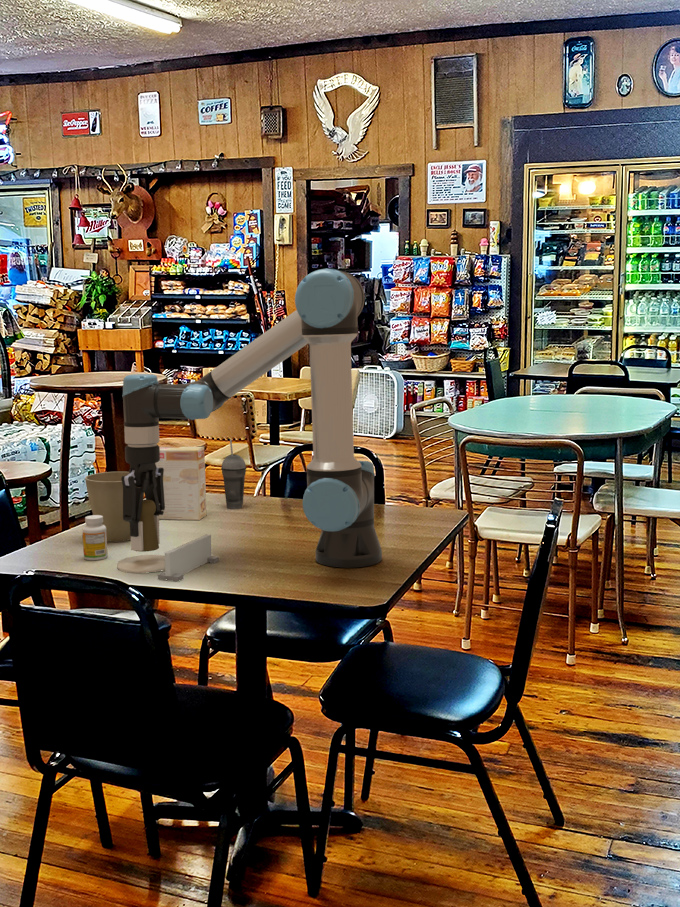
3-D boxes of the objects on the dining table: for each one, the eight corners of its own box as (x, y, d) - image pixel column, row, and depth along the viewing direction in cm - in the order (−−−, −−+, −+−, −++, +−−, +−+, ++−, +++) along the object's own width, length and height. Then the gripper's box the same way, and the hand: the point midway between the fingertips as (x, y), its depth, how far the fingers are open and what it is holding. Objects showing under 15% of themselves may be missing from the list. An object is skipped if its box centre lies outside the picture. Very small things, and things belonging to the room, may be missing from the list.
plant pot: (98, 548, 232) (95, 483, 230) (80, 536, 245) (77, 474, 242) (157, 540, 240) (155, 477, 238) (136, 529, 253) (134, 469, 250)
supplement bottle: (89, 554, 227) (87, 514, 225) (111, 555, 226) (109, 514, 224) (79, 560, 221) (77, 518, 220) (102, 561, 221) (100, 519, 219)
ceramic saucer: (186, 560, 220) (186, 557, 220) (156, 575, 208) (155, 571, 208) (137, 556, 225) (137, 552, 225) (105, 570, 213) (105, 566, 213)
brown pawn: (126, 549, 215) (124, 501, 213) (143, 543, 220) (141, 496, 218) (147, 552, 212) (145, 503, 210) (164, 546, 217) (163, 498, 215)
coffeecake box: (207, 515, 269) (205, 446, 266) (199, 520, 262) (197, 449, 259) (155, 514, 271) (153, 445, 269) (147, 519, 264) (144, 449, 262)
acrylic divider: (219, 560, 220) (218, 535, 219) (178, 581, 203) (177, 554, 202) (199, 559, 222) (199, 533, 221) (157, 579, 205) (156, 552, 204)
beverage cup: (231, 511, 274) (230, 441, 271) (217, 507, 280) (215, 439, 277) (252, 507, 279) (250, 439, 276) (237, 504, 284) (235, 437, 281)
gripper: (150, 438, 222) (154, 536, 226) (102, 449, 205) (106, 555, 208) (179, 439, 220) (181, 538, 223) (132, 451, 202) (136, 558, 206)
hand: (145, 546), depth 216 cm, fingers closed on brown pawn, 6 cm apart
